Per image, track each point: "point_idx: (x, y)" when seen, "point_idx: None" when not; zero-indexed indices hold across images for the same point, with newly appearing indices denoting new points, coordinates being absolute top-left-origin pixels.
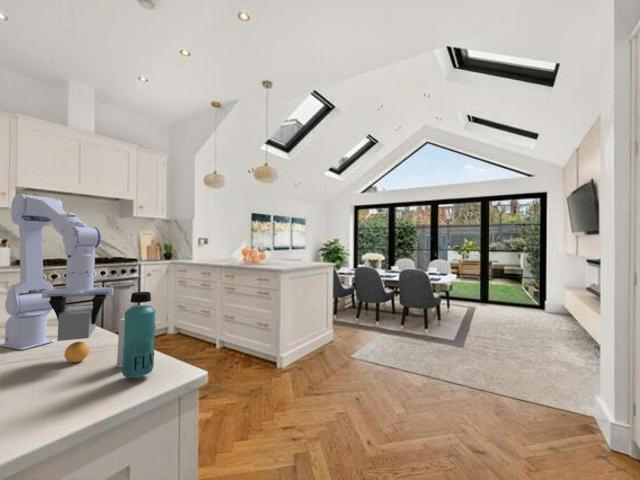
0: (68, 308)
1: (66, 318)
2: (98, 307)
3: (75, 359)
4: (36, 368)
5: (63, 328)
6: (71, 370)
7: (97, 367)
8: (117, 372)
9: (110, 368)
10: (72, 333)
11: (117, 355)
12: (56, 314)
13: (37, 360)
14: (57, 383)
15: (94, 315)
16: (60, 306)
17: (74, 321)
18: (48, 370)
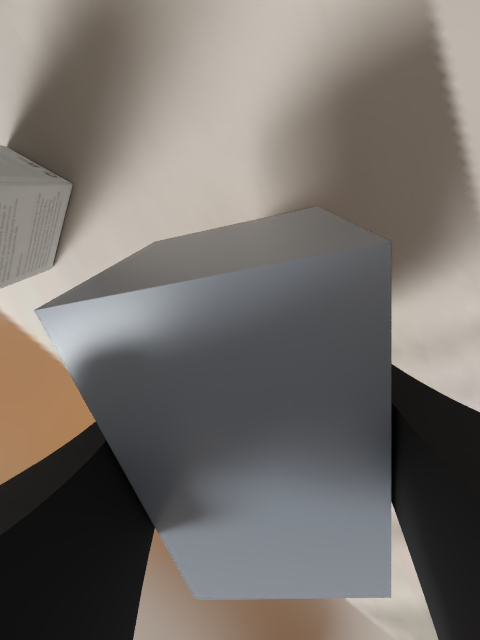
0: (375, 544)
1: (283, 247)
2: (35, 467)
3: None
4: None
5: (296, 224)
6: (237, 186)
7: (150, 199)
8: (38, 115)
9: (92, 175)
10: (234, 229)
11: (35, 180)
12: (438, 394)
13: (403, 330)
14: (228, 18)
15: None
16: (456, 462)
17: (209, 251)
18: (326, 207)
